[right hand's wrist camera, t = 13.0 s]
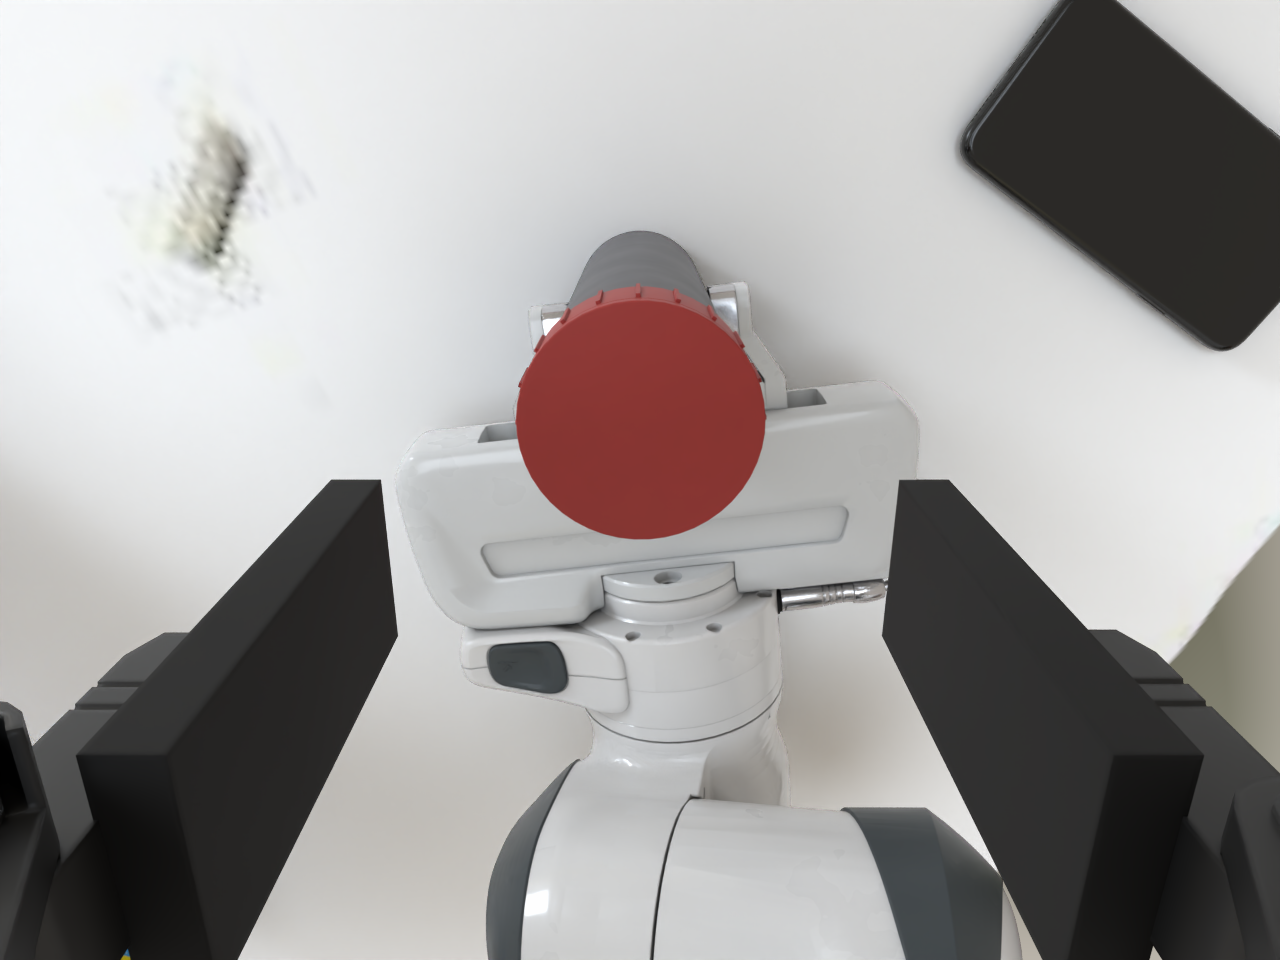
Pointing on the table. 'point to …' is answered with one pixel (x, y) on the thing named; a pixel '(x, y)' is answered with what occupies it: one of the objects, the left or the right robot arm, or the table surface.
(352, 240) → the table surface
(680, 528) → the lid
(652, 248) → the jar
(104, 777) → the right robot arm
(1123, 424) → the table surface
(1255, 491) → the table surface
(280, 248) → the table surface
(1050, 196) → the smartphone
